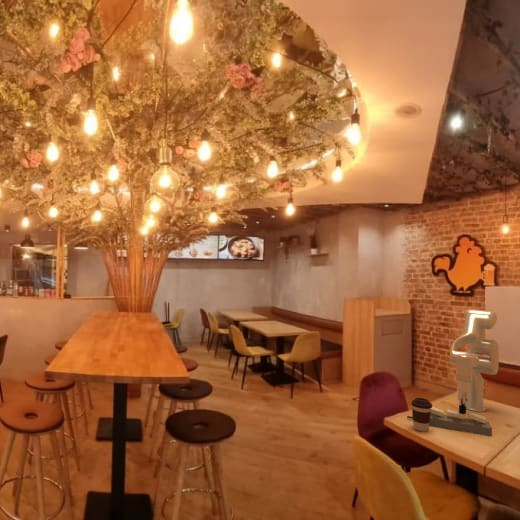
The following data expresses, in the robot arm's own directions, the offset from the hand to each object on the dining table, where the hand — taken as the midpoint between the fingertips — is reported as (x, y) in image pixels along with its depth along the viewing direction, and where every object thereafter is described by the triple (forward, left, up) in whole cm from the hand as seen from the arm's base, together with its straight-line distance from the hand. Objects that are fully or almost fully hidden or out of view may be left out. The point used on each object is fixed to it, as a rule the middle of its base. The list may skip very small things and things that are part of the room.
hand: (462, 413), depth 216 cm
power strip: (+1, -7, -7) cm, 10 cm away
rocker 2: (-1, +7, -1) cm, 7 cm away
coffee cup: (+13, -20, -8) cm, 25 cm away
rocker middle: (-1, -3, -1) cm, 3 cm away
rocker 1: (-1, -13, -1) cm, 13 cm away
